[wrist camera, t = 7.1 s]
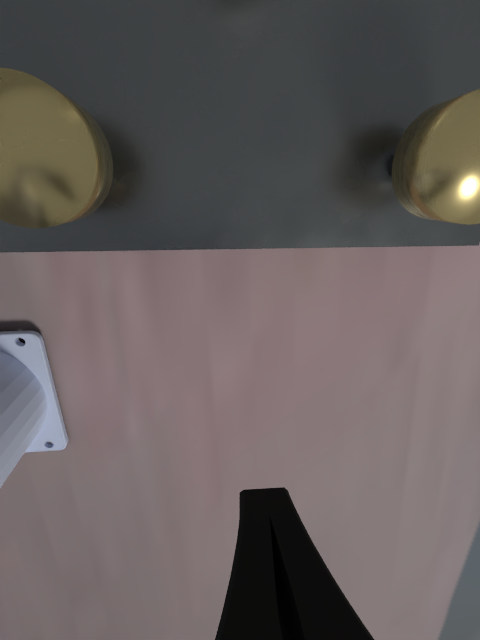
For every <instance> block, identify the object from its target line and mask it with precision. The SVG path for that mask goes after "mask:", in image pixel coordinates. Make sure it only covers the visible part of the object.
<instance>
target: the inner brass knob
mask: <svg viewBox="0 0 480 640" xmlns="http://www.w3.org/2000/svg"><path fill="white" fill-rule="evenodd" d="M112 179H113V159H112V154H111V150H110V147H109V144H108V141H107V139H106V137H105V135H104V133H103V131H102V129H101V128H100V126H99V125H98V123H97V122H96V121H95V119H94V118H93V117H92V116H91V115H90V114H89V113H88V112H87V111H86V110H85V109H84V108H83V107H82V106H81V105H79V104H78V103H76V102H75V101H73V100H72V99H70V98H69V97H67V96H66V95H64V94H63V93H61V92H59V91H58V90H56V89H55V88H53V87H52V86H50V85H48V84H47V83H45V82H44V81H42V80H40V79H38V78H36V77H34V76H32V75H30V74H27V73H25V72H22V71H18V70H14V69H7V68H0V220H2V221H5V222H7V223H9V224H13V225H16V226H20V227H26V228H47V227H51V226H56V225H60V224H63V223H67V222H71V221H75V220H79V219H81V218H84V217H86V216H88V215H90V214H91V213H93V212H94V211H95V210H97V209H98V208H99V207H100V206H101V204H102V203H103V202H104V200H105V199H106V197H107V195H108V193H109V191H110V188H111V184H112Z"/></svg>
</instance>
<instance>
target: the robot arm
mask: <svg viewBox="0 0 480 640" xmlns="http://www.w3.org/2000/svg"><path fill="white" fill-rule="evenodd" d="M19 338H22V339H24V340H25V343H22V342H20V340H19ZM48 441H49V442H52V443H53V444H52V443H49V442H48ZM67 443H68V437H67V433H66V429H65V425H64V421H63V417H62V413H61V409H60V405H59V401H58V397H57V393H56V389H55V385H54V381H53V377H52V373H51V369H50V365H49V361H48V357H47V353H46V349H45V345H44V341H43V338H42V336H41V335H40V334H39V333H38V332H36V331H2V332H0V488H1V486H2V485H3V483H4V482H5V480H6V479H7V477H8V476H9V474H10V473H11V472H12V470H13V469H14V467H15V466H16V464H17V463H18V461H19V460H20V458H21V457H22V456H23V454H24V453H25V452H37V451H53V450H62V449H64V448H65V447H66V445H67ZM215 640H374V639H373V637H372V636H371V634H370V633H369V632H368V630H367V629H366V627H365V626H364V624H363V623H362V621H361V620H360V618H359V617H358V615H357V614H356V612H355V611H354V609H353V608H352V606H351V605H350V603H349V602H348V600H347V599H346V597H345V595H344V594H343V592H342V591H341V589H340V588H339V586H338V585H337V583H336V581H335V580H334V578H333V576H332V575H331V573H330V571H329V570H328V568H327V566H326V565H325V563H324V561H323V559H322V558H321V556H320V554H319V552H318V551H317V549H316V547H315V546H314V544H313V542H312V540H311V538H310V536H309V535H308V533H307V531H306V529H305V527H304V525H303V523H302V521H301V519H300V517H299V515H298V513H297V511H296V509H295V507H294V504H293V502H292V500H291V498H290V495H289V493H288V490H287V489H285V488H267V489H250V490H243V491H242V492H240V520H239V529H238V537H237V544H236V549H235V555H234V561H233V566H232V572H231V577H230V581H229V585H228V590H227V594H226V598H225V603H224V607H223V611H222V615H221V619H220V623H219V627H218V631H217V635H216V638H215Z"/></svg>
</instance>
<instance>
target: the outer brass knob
mask: <svg viewBox="0 0 480 640" xmlns="http://www.w3.org/2000/svg"><path fill="white" fill-rule="evenodd" d="M391 175H392V183H393V188H394V192H395V194H396V197H397V199H398V200H399V202H400V204H401V205H402V206H403V207H404V208H405V209H406V210H407V211H408V212H410V213H411V214H413V215H415V216H417V217H420V218H425V219H431V220H437V221H444V222H451V223H457V224H467V225H471V224H479V223H480V89H478V90H475V91H472V92H469V93H467V94H464V95H461V96H458V97H455V98H453V99H450V100H447V101H444V102H441V103H439V104H436V105H434V106H432V107H430V108H428V109H427V110H425V111H424V112H423V113H421V114H420V115H419V116H418V117H417V118H416V119H415V120H414V121H413V122H412V123H411V124H410V125H409V127H408V128H407V129H406V131H405V132H404V134H403V136H402V137H401V139H400V141H399V143H398V146H397V148H396V151H395V154H394V158H393V162H392V166H391Z"/></svg>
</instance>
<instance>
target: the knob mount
mask: <svg viewBox="0 0 480 640" xmlns="http://www.w3.org/2000/svg"><path fill="white" fill-rule="evenodd" d="M0 68H7V69H14V70H18V71H22V72H25V73H27V74H30V75H32V76H34V77H36V78H38V79H40V80H42V81H44V82H45V83H47V84H48V85H50V86H52V87H53V88H55V89H56V90H58V91H59V92H61V93H63V94H64V95H66V96H67V97H69V98H70V99H72V100H73V101H75V102H76V103H78V104H79V105H81V106H82V107H83V108H84V109H85V110H86V111H87V112H88V113H89V114H90V115H91V116H92V117H93V118H94V119H95V121H96V122H97V123H98V125H99V126H100V128H101V129H102V131H103V133H104V135H105V137H106V139H107V141H108V144H109V147H110V150H111V154H112V159H113V179H112V184H111V188H110V191H109V193H108V195H107V197H106V199H105V200H104V202H103V203H102V204H101V206H100V207H99V208H98V209H97V210H95V211H94V212H93V213H91V214H90V215H88V216H86V217H84V218H81V219H79V220H75V221H71V222H67V223H63V224H60V225H56V226H51V227H47V228H26V227H20V226H16V225H13V224H9V223H7V222H5V221H2V220H0V252H56V251H125V250H193V249H262V248H330V247H399V246H467V245H479V242H480V223H479V224H471V225H467V224H457V223H451V222H444V221H437V220H431V219H425V218H420V217H417V216H415V215H413V214H411V213H410V212H408V211H407V210H406V209H405V208H404V207H403V206H402V205H401V204H400V202H399V200H398V199H397V197H396V194H395V192H394V188H393V183H392V175H391V166H392V162H393V158H394V154H395V151H396V148H397V146H398V143H399V141H400V139H401V137H402V136H403V134H404V132H405V131H406V129H407V128H408V127H409V125H410V124H411V123H412V122H413V121H414V120H415V119H416V118H417V117H418V116H419V115H420V114H421V113H423V112H424V111H425V110H427V109H428V108H430V107H432V106H434V105H436V104H439V103H441V102H444V101H447V100H450V99H453V98H455V97H458V96H461V95H464V94H467V93H469V92H472V91H475V90H478V89H480V0H0Z"/></svg>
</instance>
